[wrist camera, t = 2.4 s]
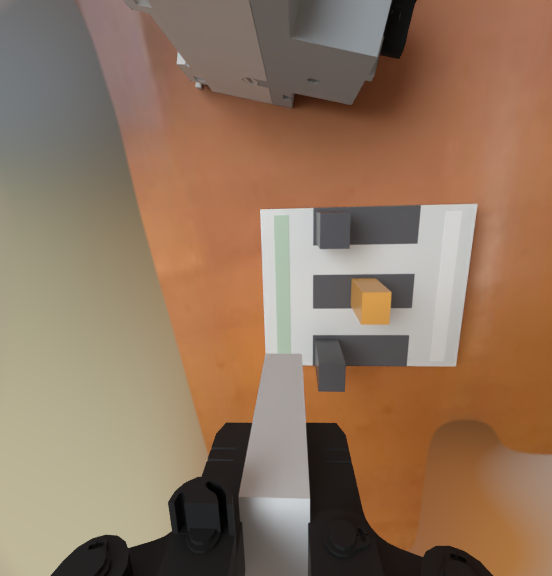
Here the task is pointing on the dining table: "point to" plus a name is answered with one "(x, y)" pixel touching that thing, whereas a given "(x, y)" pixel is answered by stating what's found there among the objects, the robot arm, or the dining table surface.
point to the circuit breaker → (282, 44)
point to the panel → (368, 264)
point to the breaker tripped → (370, 301)
